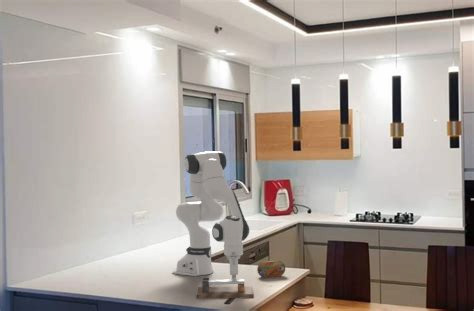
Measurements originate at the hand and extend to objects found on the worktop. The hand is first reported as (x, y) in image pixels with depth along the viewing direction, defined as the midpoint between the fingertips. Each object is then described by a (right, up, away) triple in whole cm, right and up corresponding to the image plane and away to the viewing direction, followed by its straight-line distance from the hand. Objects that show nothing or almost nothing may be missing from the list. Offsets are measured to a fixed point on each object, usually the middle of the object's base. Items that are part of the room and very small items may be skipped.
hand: (234, 280), depth 251 cm
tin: (+19, -6, +33) cm, 39 cm away
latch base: (-4, -6, 0) cm, 8 cm away
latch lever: (-4, -1, 0) cm, 5 cm away
